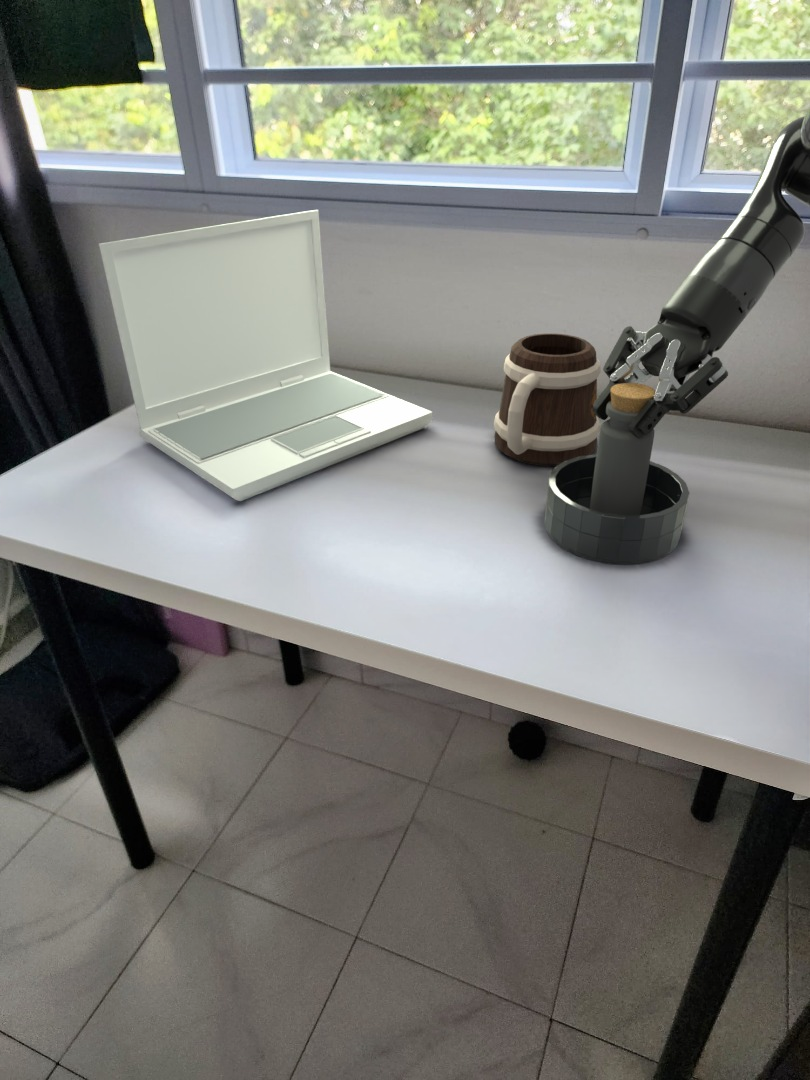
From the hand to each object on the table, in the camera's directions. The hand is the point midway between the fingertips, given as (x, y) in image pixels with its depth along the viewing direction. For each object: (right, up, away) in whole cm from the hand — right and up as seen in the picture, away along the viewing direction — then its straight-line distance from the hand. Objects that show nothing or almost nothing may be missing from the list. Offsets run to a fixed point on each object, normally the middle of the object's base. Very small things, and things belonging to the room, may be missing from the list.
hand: (616, 424), depth 81 cm
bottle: (+2, -9, +7) cm, 12 cm away
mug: (-4, 0, +26) cm, 26 cm away
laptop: (-40, +3, +32) cm, 52 cm away
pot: (+2, -11, +8) cm, 14 cm away
